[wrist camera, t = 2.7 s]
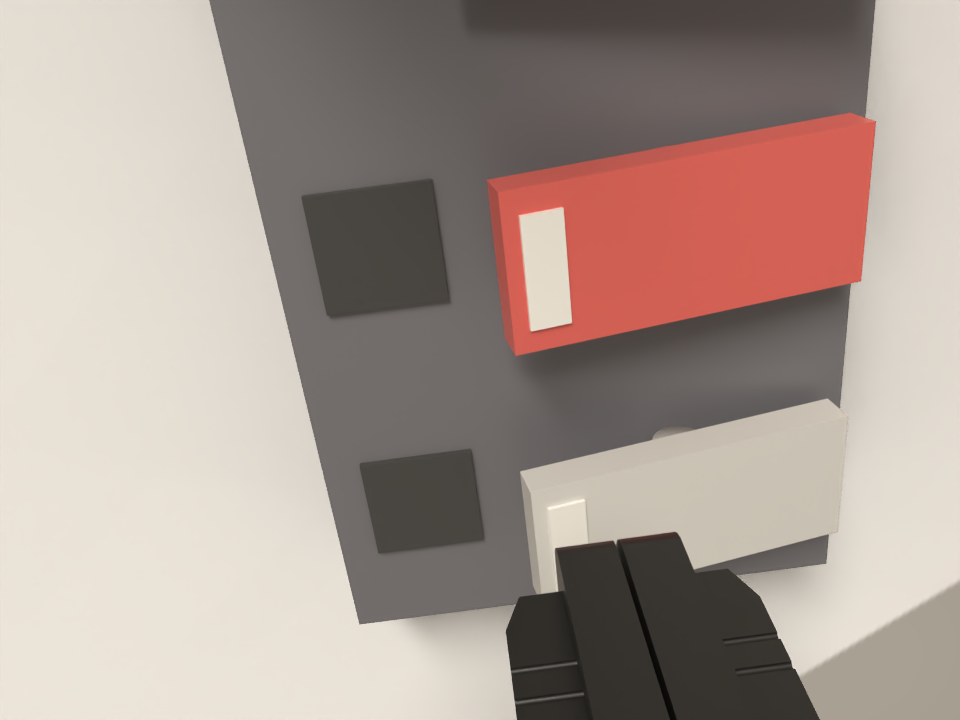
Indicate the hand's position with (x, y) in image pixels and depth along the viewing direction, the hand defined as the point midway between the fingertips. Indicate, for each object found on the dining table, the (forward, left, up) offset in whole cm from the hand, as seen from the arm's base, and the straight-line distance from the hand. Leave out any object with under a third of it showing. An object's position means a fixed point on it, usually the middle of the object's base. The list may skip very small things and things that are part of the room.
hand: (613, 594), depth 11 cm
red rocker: (-4, 0, -12) cm, 13 cm away
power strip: (-1, 0, -17) cm, 17 cm away
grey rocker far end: (-4, +8, -12) cm, 15 cm away
